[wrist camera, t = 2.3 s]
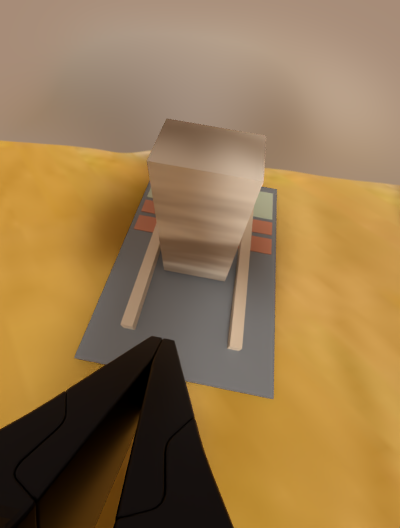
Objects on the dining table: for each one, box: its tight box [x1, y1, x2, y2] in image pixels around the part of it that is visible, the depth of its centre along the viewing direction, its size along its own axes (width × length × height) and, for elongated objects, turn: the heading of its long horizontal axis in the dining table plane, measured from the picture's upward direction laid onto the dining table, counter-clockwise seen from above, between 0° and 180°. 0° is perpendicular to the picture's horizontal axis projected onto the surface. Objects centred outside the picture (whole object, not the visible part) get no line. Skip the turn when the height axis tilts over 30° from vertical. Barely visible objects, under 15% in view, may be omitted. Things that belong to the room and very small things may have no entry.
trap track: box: [74, 181, 277, 399], centre depth 22 cm, size 24×16×3 cm
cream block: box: [147, 119, 266, 282], centre depth 18 cm, size 4×6×12 cm, turn 80°
